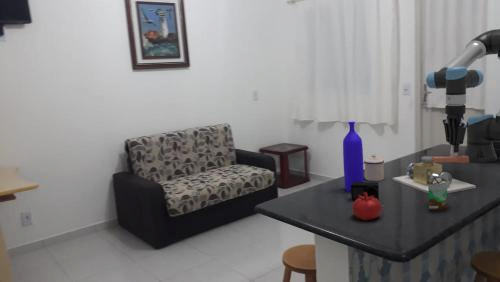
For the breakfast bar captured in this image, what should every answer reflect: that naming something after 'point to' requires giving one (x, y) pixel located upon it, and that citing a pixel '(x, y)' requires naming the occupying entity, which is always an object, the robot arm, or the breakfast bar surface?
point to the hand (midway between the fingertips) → (454, 159)
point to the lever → (445, 159)
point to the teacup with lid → (374, 168)
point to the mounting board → (409, 181)
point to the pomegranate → (366, 207)
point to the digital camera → (364, 189)
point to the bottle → (352, 158)
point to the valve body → (426, 172)
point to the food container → (438, 193)
